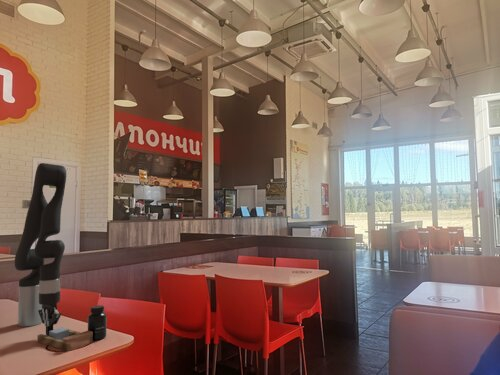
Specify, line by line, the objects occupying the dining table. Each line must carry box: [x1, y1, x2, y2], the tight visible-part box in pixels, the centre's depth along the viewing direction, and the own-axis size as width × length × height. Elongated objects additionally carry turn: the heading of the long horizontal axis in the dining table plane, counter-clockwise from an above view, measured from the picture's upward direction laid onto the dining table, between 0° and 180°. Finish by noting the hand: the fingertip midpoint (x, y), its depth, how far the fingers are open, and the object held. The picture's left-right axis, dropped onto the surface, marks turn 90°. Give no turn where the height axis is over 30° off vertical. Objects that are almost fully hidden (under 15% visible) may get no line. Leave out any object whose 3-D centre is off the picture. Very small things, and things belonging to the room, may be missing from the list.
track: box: [37, 329, 94, 352], centre depth 140 cm, size 20×10×4 cm, turn 58°
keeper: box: [49, 327, 70, 340], centre depth 142 cm, size 5×5×4 cm
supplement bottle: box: [87, 304, 108, 342], centre depth 144 cm, size 7×7×12 cm
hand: (49, 335), depth 145 cm, fingers closed
